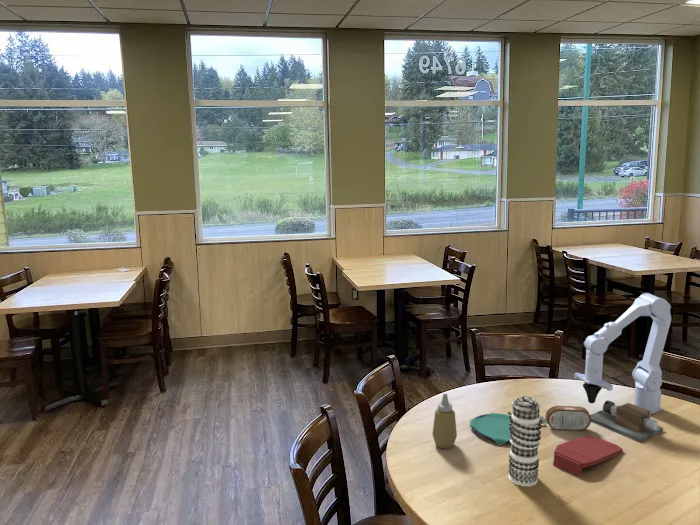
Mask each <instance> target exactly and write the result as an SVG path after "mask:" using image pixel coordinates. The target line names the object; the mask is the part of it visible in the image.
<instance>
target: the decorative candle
mask: <svg viewBox="0 0 700 525" xmlns="http://www.w3.org/2000/svg"><path fill="white" fill-rule="evenodd" d="M511 406H512V411H511V413H512V414H511V415H509V419H510V423H509V425H510V428H509V430H510V435H509V436H510V441H509V443H510V452H509V455H508V458H509V460H508V462H509V464H508V466H507V467H508V477H509V478H508V477H507V478H508V479H509V481H510V482H511V483H513V484H514V483H515V485H518V486H519V485H521V487H525V486H527V487H533V486H535V485H537V484H538V483H537V482H538V481H539V480H538V479H539V471H540V470H539V465H540V463H539V462H540V458H539V452H538V449H539V448H538V447H540V441H541V438H542V437H541V435H542V431H541V430H542V428H543V425H542V424H543V423H542V422H543V421H542V420H541V419H540V416H541V415H540V410H541V404H540V403H539V402H538V401H537V400H536V399H535V398H534V397H530V396H526V395H522V396H518V397H516V398H515V399H514V400H512V401H511ZM511 417H512V419H511ZM511 429H512V430H511ZM536 483H537V484H536ZM532 485H533V486H532Z"/></svg>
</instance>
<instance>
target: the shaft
mask: <svg viewBox="0 0 700 525" xmlns="http://www.w3.org/2000/svg"><path fill="white" fill-rule="evenodd" d="M619 406H621V405H620V404H619V405H618V404H617V405H616V402H614V401H611V400H606V401H604V403H603V405H602V410H603V411H604V412H606V413H609V414H612V413H613V414H615V415H616V409H617V407H619ZM658 424H659V421H658V420H656V419H653V418H651V417H650V418H648V417H646V416H645V417H643V418H642V421H641V425H643V426H646V427H648V428H651V429H653V430H654V429H656V428H657V427H658V426H659V425H658Z"/></svg>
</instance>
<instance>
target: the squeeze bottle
mask: <svg viewBox="0 0 700 525" xmlns="http://www.w3.org/2000/svg"><path fill="white" fill-rule="evenodd" d="M457 432H458V431H457V421H456V412H455V410H454V409H453V405H452V403H451V402H449V398H448V394H447V393H443V394H442V397H441V401H440V402H438V404H437V408H436V409H435V411H434V418H433V427H432V438H433V440H434V444H435V445H436V447H438V448H440V449H444V450H445V449H451V448H453V447H454V444H455V443H456V440H457V436H458V434H457Z"/></svg>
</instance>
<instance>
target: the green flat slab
mask: <svg viewBox="0 0 700 525" xmlns="http://www.w3.org/2000/svg"><path fill="white" fill-rule="evenodd" d="M509 414H510V415H512V412H510V411H507V414H506V413H505V414H504V413H496V412H491V413H487V414H481V415H478V416H475V417H474V418H472V419H470V424H469V427H470V428H471V429H472V430H473V431H474V432H475V433H477V435H479V436H481V437H483V438H485V439H489V440H492V441H494V442H495V443H496V444H497V445H499V446H500V445H501V446H502V445H504V444H506V443H507V442H510V436H509V435H510V430H509V428H510V425H509V423H510V419H509V416H510V415H509ZM511 419H512V416H511ZM540 419H541V420H542V424H543V427H545V426H546V427H547V424H548V423H547V421H546V418H545V417H544V416H541V415H540ZM548 425H549V424H548ZM511 430H512V429H511Z"/></svg>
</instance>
